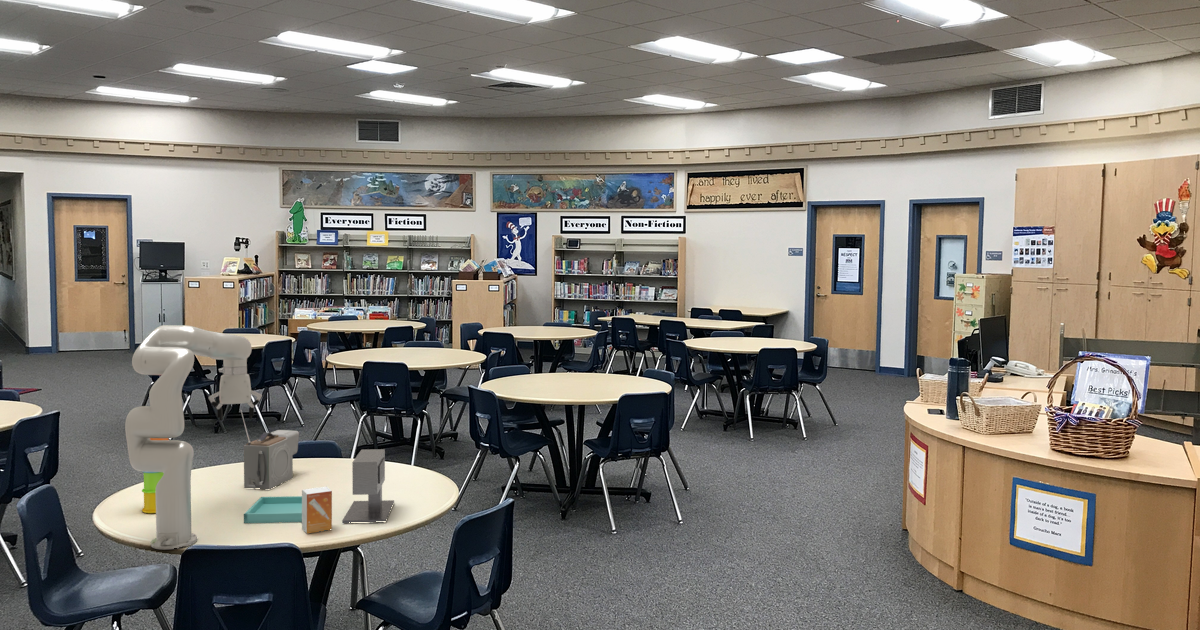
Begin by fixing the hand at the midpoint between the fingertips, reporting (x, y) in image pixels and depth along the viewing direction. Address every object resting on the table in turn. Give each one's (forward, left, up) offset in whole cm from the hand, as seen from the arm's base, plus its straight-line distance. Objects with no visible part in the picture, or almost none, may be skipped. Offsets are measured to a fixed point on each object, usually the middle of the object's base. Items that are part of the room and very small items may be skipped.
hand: (235, 419), depth 293 cm
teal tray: (-14, -21, -30) cm, 39 cm away
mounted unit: (-16, -49, -30) cm, 59 cm away
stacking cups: (-7, +23, -30) cm, 39 cm away
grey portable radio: (+27, -5, -30) cm, 40 cm away
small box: (-32, -35, -30) cm, 56 cm away
